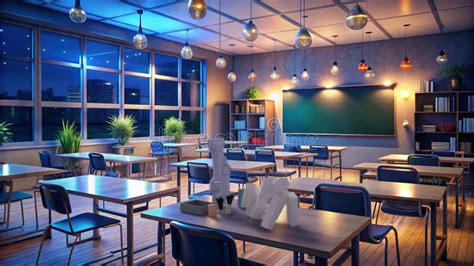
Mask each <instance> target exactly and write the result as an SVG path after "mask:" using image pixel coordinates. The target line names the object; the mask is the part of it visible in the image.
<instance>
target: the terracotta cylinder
mask: <svg viewBox="0 0 474 266" xmlns="http://www.w3.org/2000/svg"><path fill="white" fill-rule="evenodd" d="M207 215H208V216H207V217H208V218H210V219H215V218H217V217H218V208H217V204H209V205H208V214H207Z"/></svg>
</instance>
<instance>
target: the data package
mask: <svg viewBox="0 0 474 266" xmlns="http://www.w3.org/2000/svg"><path fill="white" fill-rule="evenodd" d="M244 190H245V187H242V188H239V189H238V190H237V207H238V208H240V209H244V210H246V208H245V207H241V202H242V197H243V194H244Z"/></svg>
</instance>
